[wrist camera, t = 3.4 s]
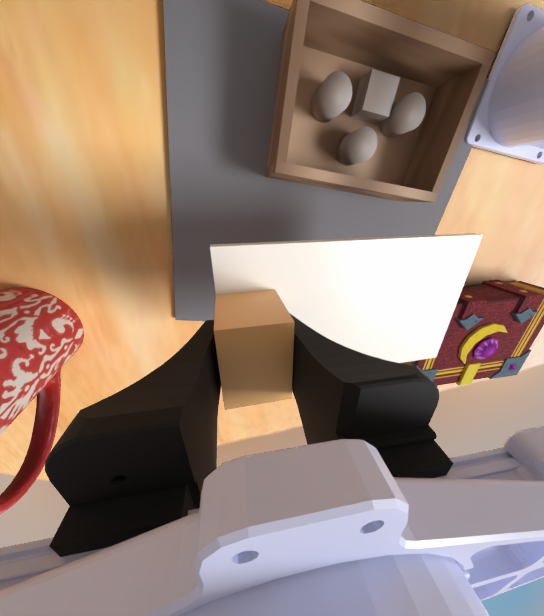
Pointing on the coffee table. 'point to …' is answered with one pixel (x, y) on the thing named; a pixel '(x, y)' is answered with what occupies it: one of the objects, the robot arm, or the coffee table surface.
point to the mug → (33, 372)
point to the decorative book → (487, 333)
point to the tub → (370, 100)
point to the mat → (251, 151)
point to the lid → (331, 303)
